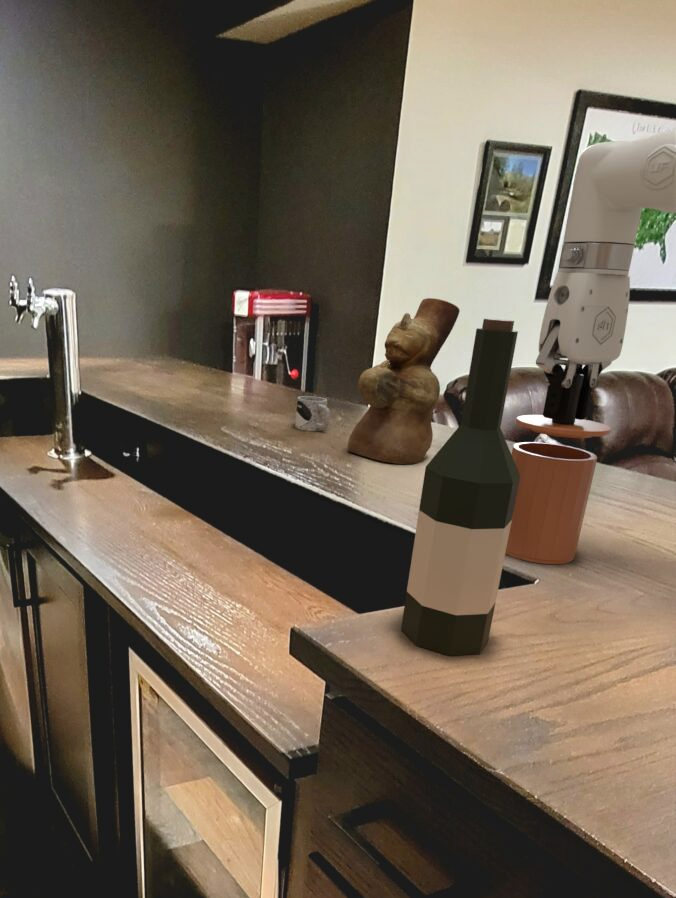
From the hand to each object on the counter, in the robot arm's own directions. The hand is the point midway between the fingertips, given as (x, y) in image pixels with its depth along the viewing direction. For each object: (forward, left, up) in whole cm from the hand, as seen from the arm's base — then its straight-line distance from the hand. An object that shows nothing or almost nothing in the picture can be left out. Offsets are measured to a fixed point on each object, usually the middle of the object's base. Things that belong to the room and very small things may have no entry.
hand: (564, 417), depth 90 cm
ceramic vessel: (+7, -52, -18) cm, 56 cm away
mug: (+22, -71, -18) cm, 77 cm away
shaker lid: (0, 0, -1) cm, 1 cm away
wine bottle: (+19, +26, -18) cm, 37 cm away
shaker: (0, 0, -18) cm, 18 cm away
